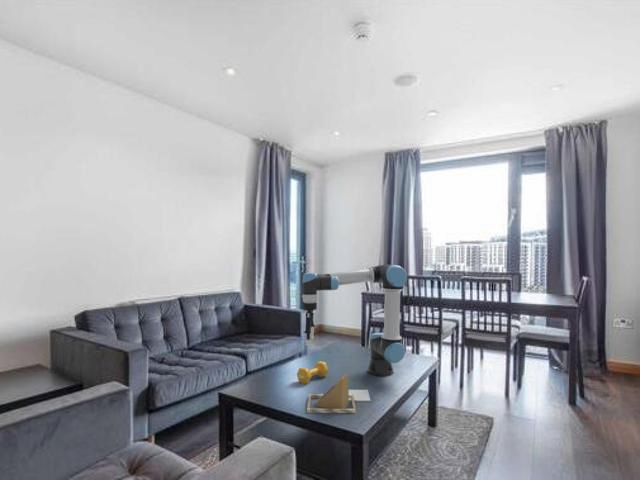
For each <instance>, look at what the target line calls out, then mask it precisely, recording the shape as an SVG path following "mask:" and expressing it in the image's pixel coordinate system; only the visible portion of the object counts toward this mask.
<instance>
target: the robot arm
mask: <svg viewBox="0 0 640 480" xmlns="http://www.w3.org/2000/svg"><path fill="white" fill-rule="evenodd" d="M407 281H408V275H407V272H406V270H405V269H404V268H403V267H402V266H400V265H397V264H396V265H395V264H381V265H380V264H379V265H376V266H370V267H368V268H367V269H358V270H348V271H341V272H332V273H323V274H321V273H319V274H317V273H316V272H304V273H303V275H302V295H301V298H302V310H303V311H306V313H305V331H303V332H304V334H305V346H306V347H312V340H314V331H315V330H314V329H315V327H316V325H315V323H314V315H315V314H314V313H315V312H314V311H316V310H317V309H318V303H317V301H318V293H317V292H318V291H336V290H338V289H339V286H344V285H345V286H346V285H353V284H362V283H370V284H381V285H382V286H381V287H382V289H383V291H384V315H383V316H384V317H383V318H384V320H383V321H384V323H383V332H373V333H371V334H370V339H369V340H370V343H369V344H370V360H369V363H368V367H367V372H368V373H369V374H370V375H373V376H379V377H387V376H391V375H392V374H393V373H394V366H393V364H397V363H399V362H401V361H402V360H403V359H404V358H405V355H406V347H405V346H404V344H403V337H402V336H401V335H400V320H401V317H400V316H401V292H402V291H403V290H404V285H405V284H406V283H407Z"/></svg>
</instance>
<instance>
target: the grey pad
mask: <svg viewBox="0 0 640 480" xmlns="http://www.w3.org/2000/svg"><path fill="white" fill-rule="evenodd" d="M349 395H353V396H354V402H362V403H364V402H367V403H368V402H371V397H370V394H369V390H368V389H349ZM349 402H352V398H351V397H349Z"/></svg>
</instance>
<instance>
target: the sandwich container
mask: <svg viewBox="0 0 640 480" xmlns="http://www.w3.org/2000/svg"><path fill="white" fill-rule="evenodd" d="M349 378H350V376H349V373H346V374H345V375H343V376H342V377H340V379H339V380H338V381H336V383H334V384H333V385H332V386H331V387H330V388H329V389H328V390H327V391H326V392H325V393H324V395H323V396H322V397H321V398H318V399H317V400H316V402H314V403H313V406H315V407H320V408H322V409H347V407H348V406H349V403H350V401H349V390H350V389H349V388H350V387H349Z"/></svg>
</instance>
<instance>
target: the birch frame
mask: <svg viewBox="0 0 640 480" xmlns="http://www.w3.org/2000/svg"><path fill="white" fill-rule="evenodd" d="M324 394H325V393H324ZM324 394H323V393H320V394H318V393H317V394H316V393H312V394H311V393H309V395H308V401H307V406H306V413H311V414H313V413H315V414H356V413H357V411H356V405H355V404H356V403H355V401H354V396H353V395H349V397H351V398H352V401H351V405H352V407H351V408H345V409H328V408H322V407H320V408H311V401H312V399H320V398H321V397H322V396H323V395H324Z"/></svg>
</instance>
